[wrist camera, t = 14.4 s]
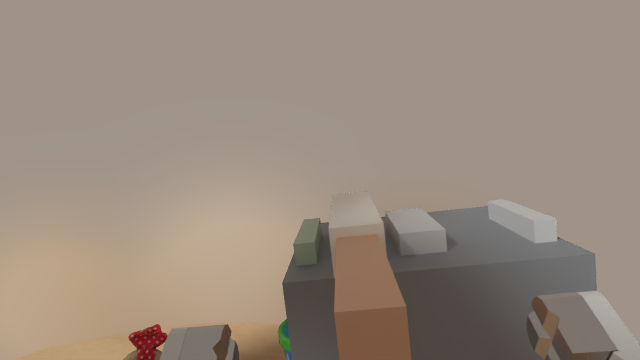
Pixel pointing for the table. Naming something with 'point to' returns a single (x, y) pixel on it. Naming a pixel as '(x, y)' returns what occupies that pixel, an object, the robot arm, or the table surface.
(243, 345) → the table surface
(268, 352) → the table surface
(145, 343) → the bird rattle
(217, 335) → the robot arm
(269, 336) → the table surface
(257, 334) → the table surface
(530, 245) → the cabinet
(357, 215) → the lever bar
